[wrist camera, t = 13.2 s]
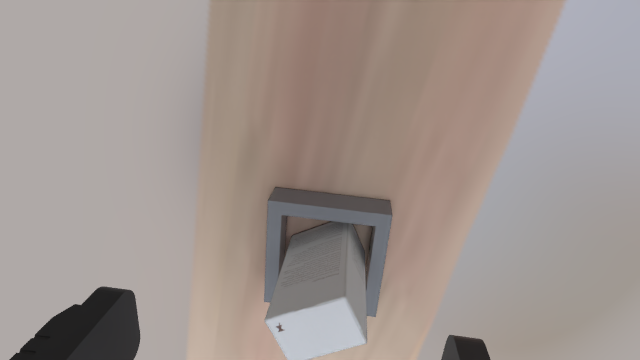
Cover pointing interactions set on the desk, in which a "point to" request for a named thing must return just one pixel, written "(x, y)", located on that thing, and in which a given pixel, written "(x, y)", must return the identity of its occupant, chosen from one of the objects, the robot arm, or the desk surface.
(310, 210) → the frame
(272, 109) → the desk surface
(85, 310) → the robot arm
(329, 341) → the skincare box
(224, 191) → the desk surface
